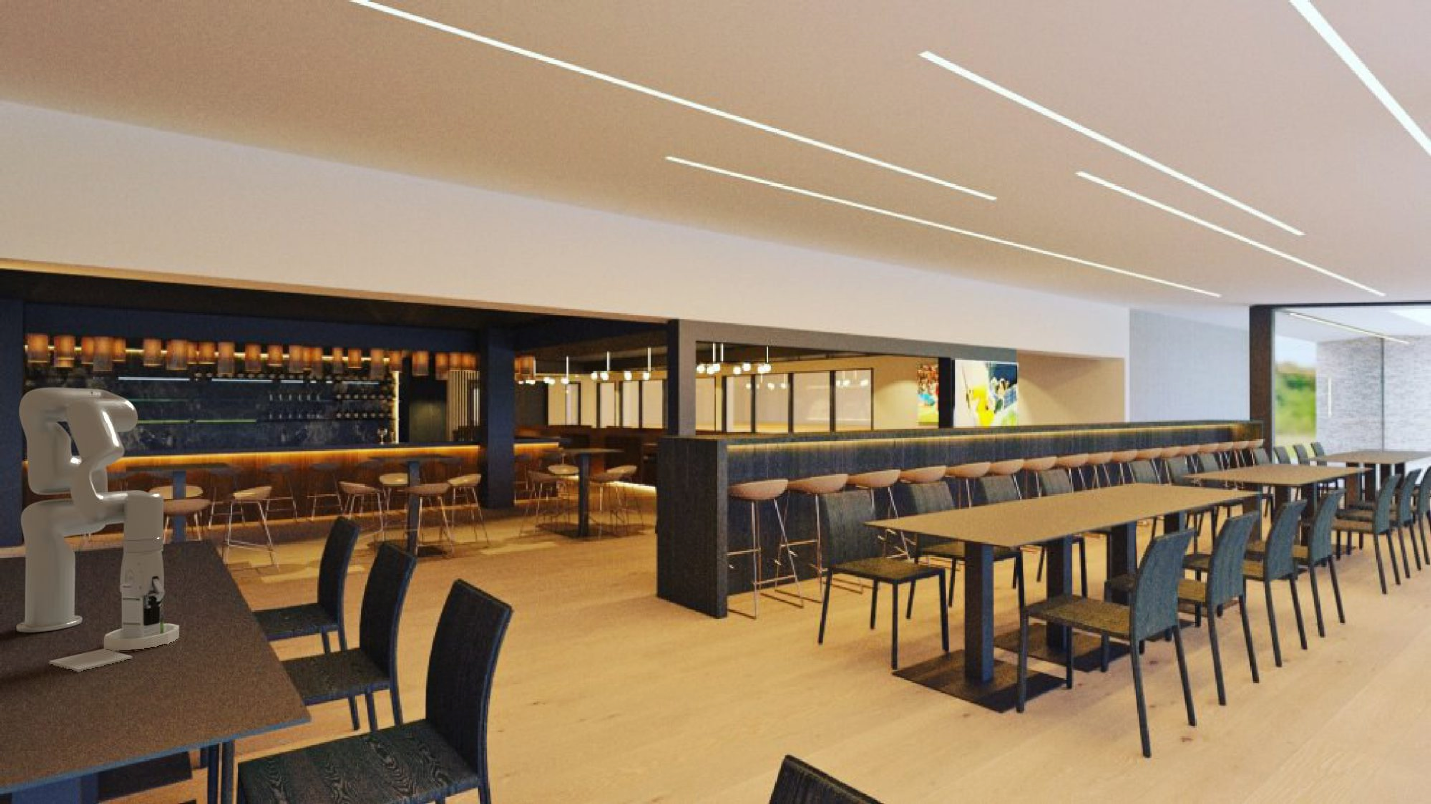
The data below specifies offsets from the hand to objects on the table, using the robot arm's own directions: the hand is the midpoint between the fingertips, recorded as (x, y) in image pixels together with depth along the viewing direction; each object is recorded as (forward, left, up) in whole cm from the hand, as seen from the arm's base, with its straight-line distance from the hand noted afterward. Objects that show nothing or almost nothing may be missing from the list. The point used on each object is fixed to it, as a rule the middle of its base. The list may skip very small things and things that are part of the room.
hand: (142, 622), depth 184 cm
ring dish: (0, 0, -5) cm, 5 cm away
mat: (+6, -13, -5) cm, 15 cm away
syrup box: (0, 0, -5) cm, 5 cm away
